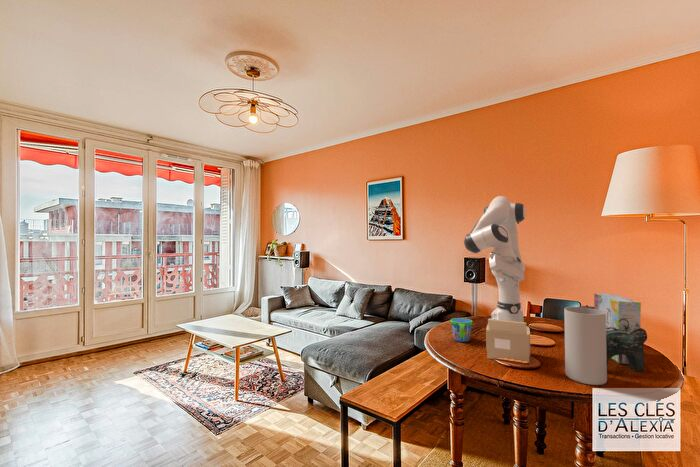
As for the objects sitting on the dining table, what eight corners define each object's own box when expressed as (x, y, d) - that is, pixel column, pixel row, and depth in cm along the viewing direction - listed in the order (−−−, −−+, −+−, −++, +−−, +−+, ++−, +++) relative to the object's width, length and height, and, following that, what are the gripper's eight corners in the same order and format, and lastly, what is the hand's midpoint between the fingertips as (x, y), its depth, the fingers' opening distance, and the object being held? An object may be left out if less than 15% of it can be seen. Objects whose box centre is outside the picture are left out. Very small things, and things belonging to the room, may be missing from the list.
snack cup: (452, 334, 177) (452, 315, 177) (473, 336, 173) (473, 317, 173) (449, 343, 163) (449, 323, 163) (472, 346, 159) (471, 325, 159)
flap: (487, 318, 137) (487, 319, 137) (526, 322, 131) (526, 323, 130) (489, 328, 143) (489, 329, 143) (526, 332, 137) (526, 333, 136)
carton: (488, 347, 157) (488, 322, 157) (529, 352, 149) (528, 326, 149) (486, 358, 143) (485, 330, 143) (530, 364, 135) (530, 335, 136)
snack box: (643, 366, 132) (642, 302, 133) (618, 364, 135) (617, 301, 135) (614, 348, 153) (613, 292, 154) (593, 347, 156) (592, 292, 156)
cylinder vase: (593, 388, 114) (591, 316, 114) (557, 375, 125) (556, 308, 125) (614, 382, 119) (613, 312, 119) (578, 369, 130) (577, 305, 130)
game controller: (638, 366, 132) (637, 316, 132) (653, 373, 126) (652, 320, 126) (589, 367, 132) (588, 317, 132) (601, 374, 125) (600, 321, 125)
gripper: (495, 247, 149) (500, 275, 141) (523, 261, 157) (530, 288, 149) (483, 252, 153) (488, 279, 145) (512, 266, 161) (517, 292, 154)
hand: (509, 284), depth 147 cm, fingers open, 8 cm apart
